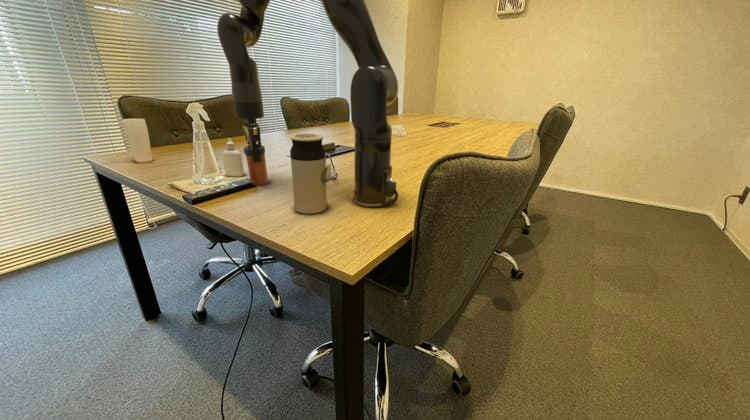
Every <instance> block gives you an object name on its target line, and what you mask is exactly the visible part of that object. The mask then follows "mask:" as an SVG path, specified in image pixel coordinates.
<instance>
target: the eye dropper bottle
mask: <svg viewBox="0 0 750 420" xmlns="http://www.w3.org/2000/svg"><path fill="white" fill-rule="evenodd" d="M225 145H226V150H224V151H223V152H222V155H221V156H222V161H223V166H224V167H223V168H224V172H225V173H224V174H225V176H227V177H232V178H233V177H236V178H237V177H242V176H244V175H245V167H244V162H243V161H244V160H243V156H242V155H243V154H242V152H241V151H240V150H237V149H236V144H235V142H233V141H232V138H231V137H229V138H228V139H227V142H226V143H225Z"/></svg>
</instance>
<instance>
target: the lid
mask: <svg viewBox="0 0 750 420" xmlns="http://www.w3.org/2000/svg"><path fill="white" fill-rule="evenodd" d="M260 153H261V154H266V148H265V146H264V145H262V147H261V149H260ZM243 154H244V155H245V156H246V155H252V150H251V146H248V145H247V146H244V147H243Z"/></svg>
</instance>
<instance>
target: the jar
mask: <svg viewBox="0 0 750 420" xmlns="http://www.w3.org/2000/svg"><path fill="white" fill-rule="evenodd" d="M265 154H266V153H264V154H261V162H256V163H255V162H253V157H252V155H245V159H246V163H247V169H248V170H247V171H248V175H249V181H250V180H251V181H250V185H252V186H263V185H266V184H268V183H269V176H268V168H267V161H266V155H265ZM252 181H254V182H252Z"/></svg>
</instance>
